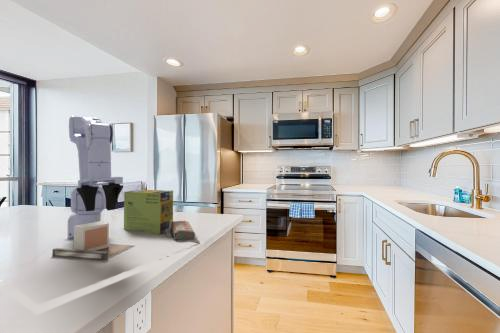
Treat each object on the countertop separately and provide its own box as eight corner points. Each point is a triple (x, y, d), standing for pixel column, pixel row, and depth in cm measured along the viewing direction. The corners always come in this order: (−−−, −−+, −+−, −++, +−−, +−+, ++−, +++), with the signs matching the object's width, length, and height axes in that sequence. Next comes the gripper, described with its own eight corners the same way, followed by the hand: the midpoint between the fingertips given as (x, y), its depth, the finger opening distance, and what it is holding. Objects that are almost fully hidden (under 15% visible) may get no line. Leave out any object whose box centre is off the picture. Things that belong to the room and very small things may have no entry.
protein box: (160, 234, 92) (160, 192, 92) (123, 232, 94) (123, 191, 94) (173, 227, 102) (174, 190, 102) (139, 226, 105) (140, 189, 105)
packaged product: (165, 220, 95) (192, 219, 99) (165, 233, 95) (191, 231, 99) (167, 232, 78) (199, 229, 82) (167, 247, 78) (199, 244, 82)
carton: (73, 250, 70) (74, 225, 70) (99, 244, 76) (99, 221, 76) (83, 254, 68) (83, 228, 68) (108, 246, 74) (109, 223, 74)
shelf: (51, 260, 66) (51, 249, 66) (89, 246, 78) (89, 236, 78) (104, 265, 63) (104, 253, 63) (135, 249, 75) (135, 239, 75)
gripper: (67, 165, 71) (67, 212, 70) (108, 160, 67) (109, 211, 66) (90, 166, 77) (90, 210, 76) (127, 162, 73) (129, 208, 72)
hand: (100, 210), depth 71 cm, fingers open, 7 cm apart
